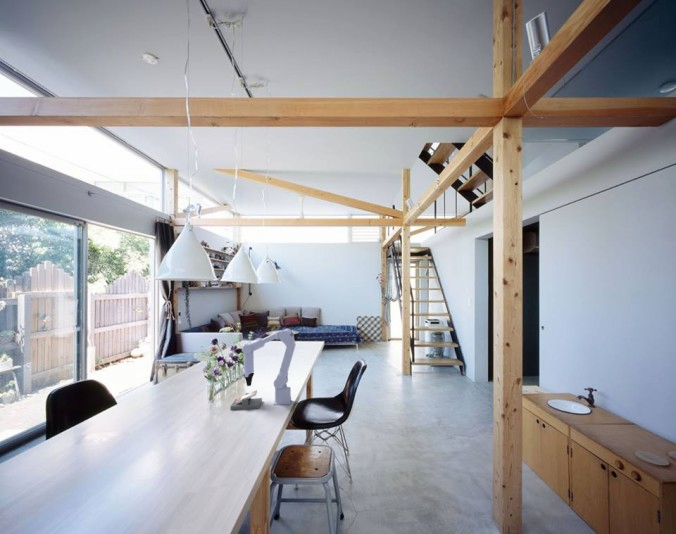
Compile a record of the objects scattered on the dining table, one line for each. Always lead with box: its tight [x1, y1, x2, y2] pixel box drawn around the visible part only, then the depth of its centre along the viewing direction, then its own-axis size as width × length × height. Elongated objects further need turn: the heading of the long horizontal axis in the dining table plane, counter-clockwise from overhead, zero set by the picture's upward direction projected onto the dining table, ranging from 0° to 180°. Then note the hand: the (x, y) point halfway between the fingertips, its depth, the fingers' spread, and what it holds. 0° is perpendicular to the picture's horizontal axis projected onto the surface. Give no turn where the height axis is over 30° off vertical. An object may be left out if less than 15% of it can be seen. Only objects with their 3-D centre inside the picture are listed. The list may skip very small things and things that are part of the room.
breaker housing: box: [230, 392, 263, 411], centre depth 189 cm, size 16×11×6 cm
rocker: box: [236, 389, 258, 404], centre depth 189 cm, size 12×6×1 cm, turn 94°
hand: (249, 385), depth 196 cm, fingers closed
